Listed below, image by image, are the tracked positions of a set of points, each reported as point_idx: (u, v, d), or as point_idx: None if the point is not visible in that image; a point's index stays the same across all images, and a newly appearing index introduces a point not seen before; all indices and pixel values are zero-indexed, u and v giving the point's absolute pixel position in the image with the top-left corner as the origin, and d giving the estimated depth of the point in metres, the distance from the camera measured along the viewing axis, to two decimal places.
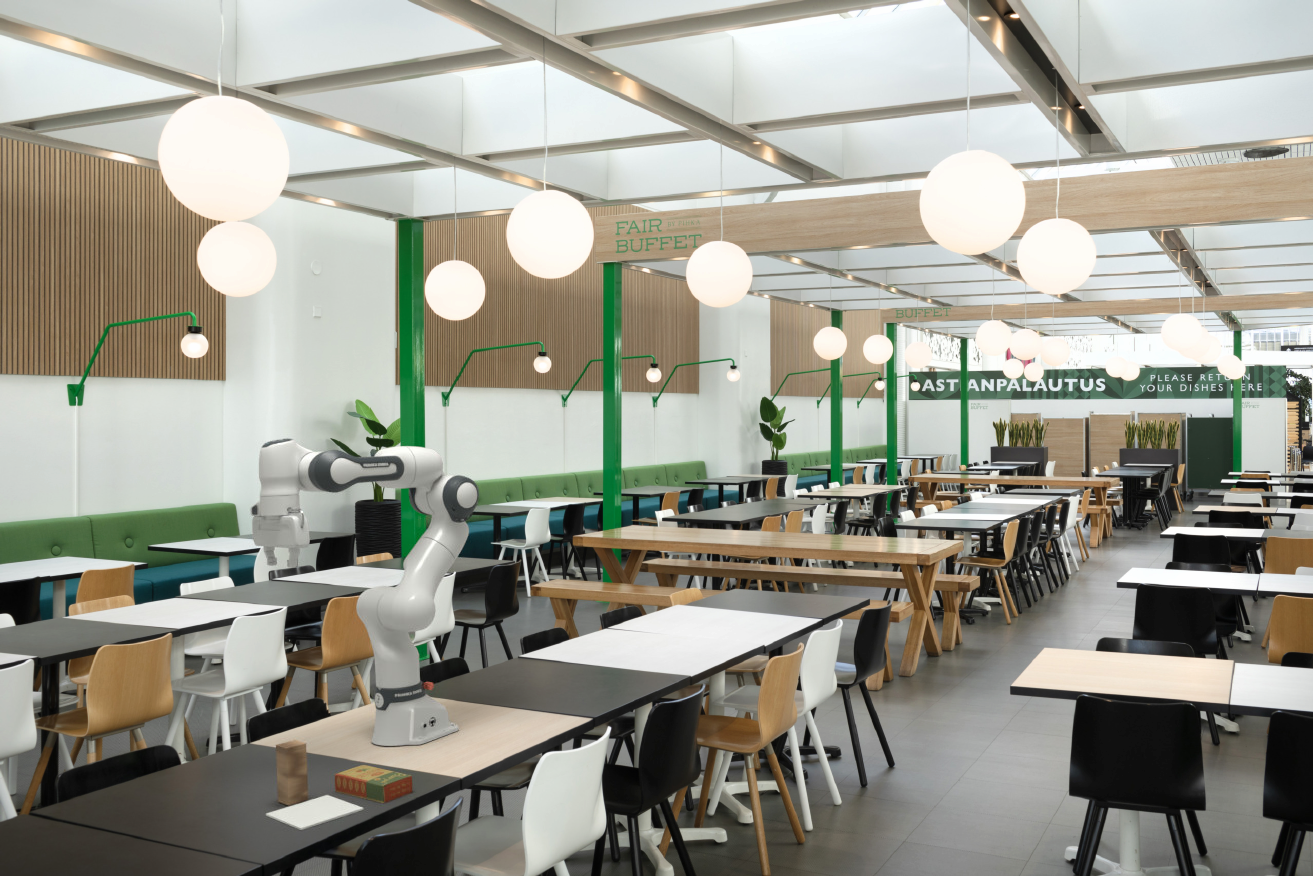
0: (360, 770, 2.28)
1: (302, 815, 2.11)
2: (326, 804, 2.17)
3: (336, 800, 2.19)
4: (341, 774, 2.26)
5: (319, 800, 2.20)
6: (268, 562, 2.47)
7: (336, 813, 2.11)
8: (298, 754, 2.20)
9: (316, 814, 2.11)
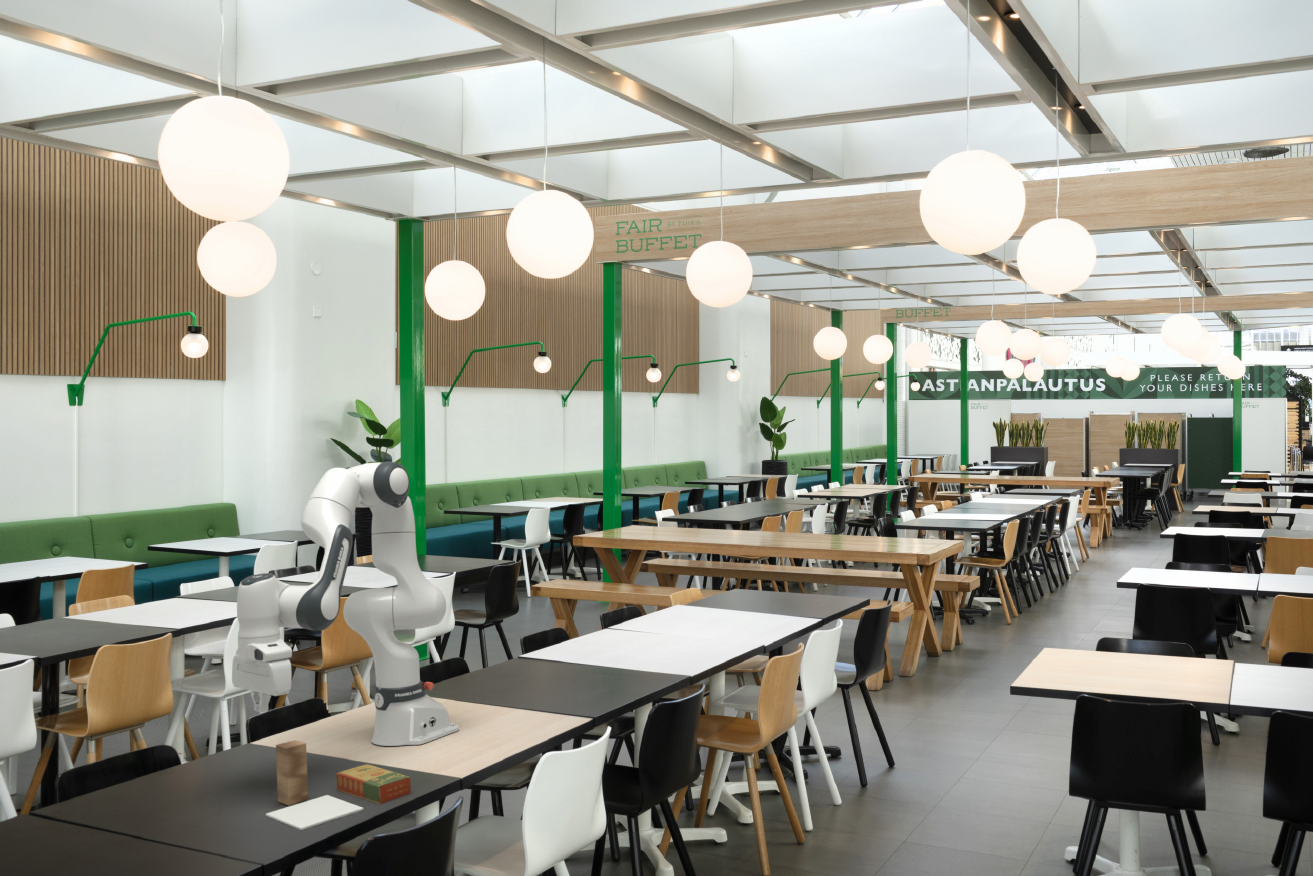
0: (362, 770, 2.28)
1: (302, 815, 2.11)
2: (326, 804, 2.17)
3: (336, 800, 2.19)
4: (342, 773, 2.27)
5: (319, 800, 2.20)
6: None
7: (336, 813, 2.11)
8: (298, 754, 2.20)
9: (316, 814, 2.11)
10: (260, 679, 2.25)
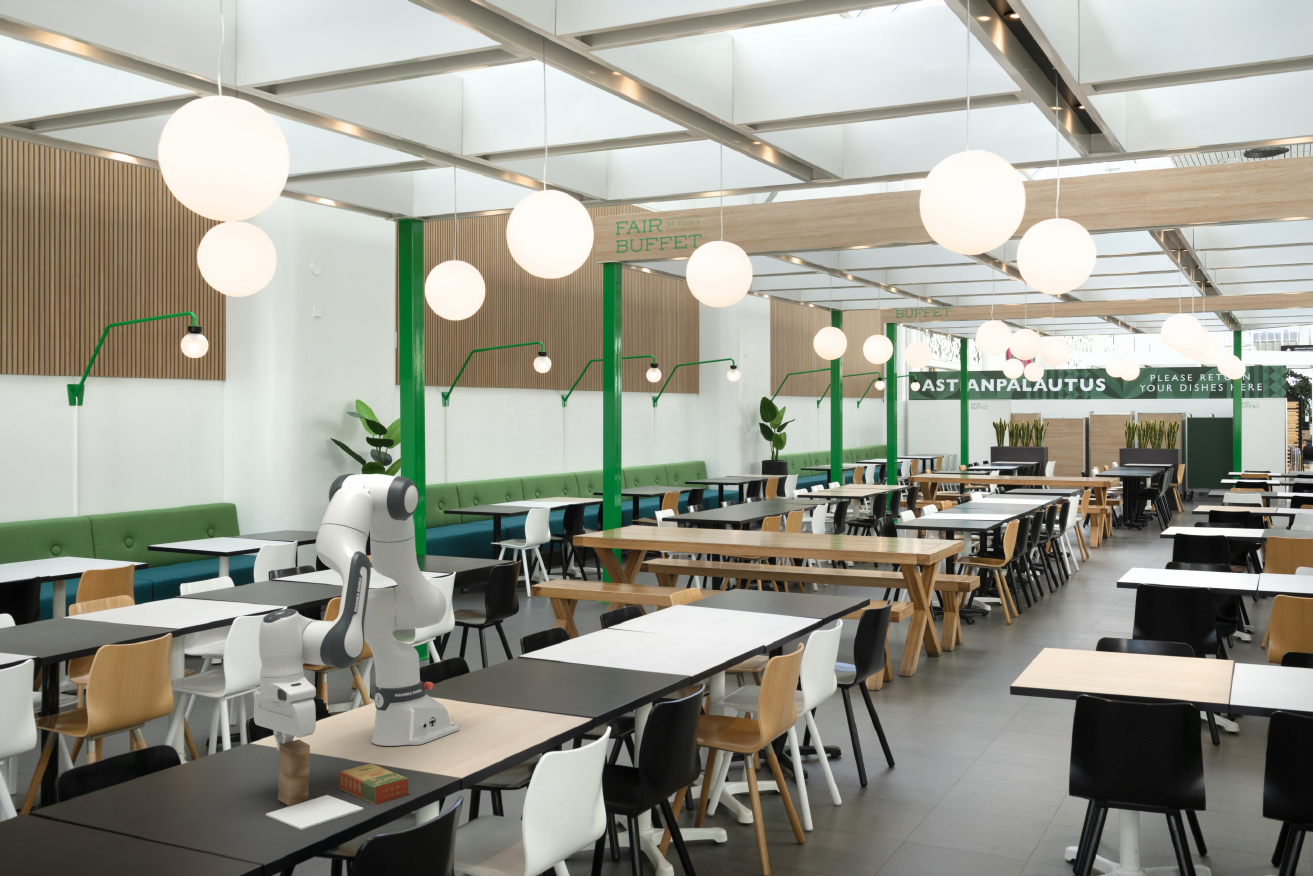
0: (363, 769, 2.29)
1: (302, 815, 2.11)
2: (326, 804, 2.17)
3: (336, 800, 2.19)
4: (344, 772, 2.28)
5: (319, 800, 2.20)
6: None
7: (336, 813, 2.11)
8: (301, 756, 2.19)
9: (316, 814, 2.11)
10: (283, 719, 2.19)
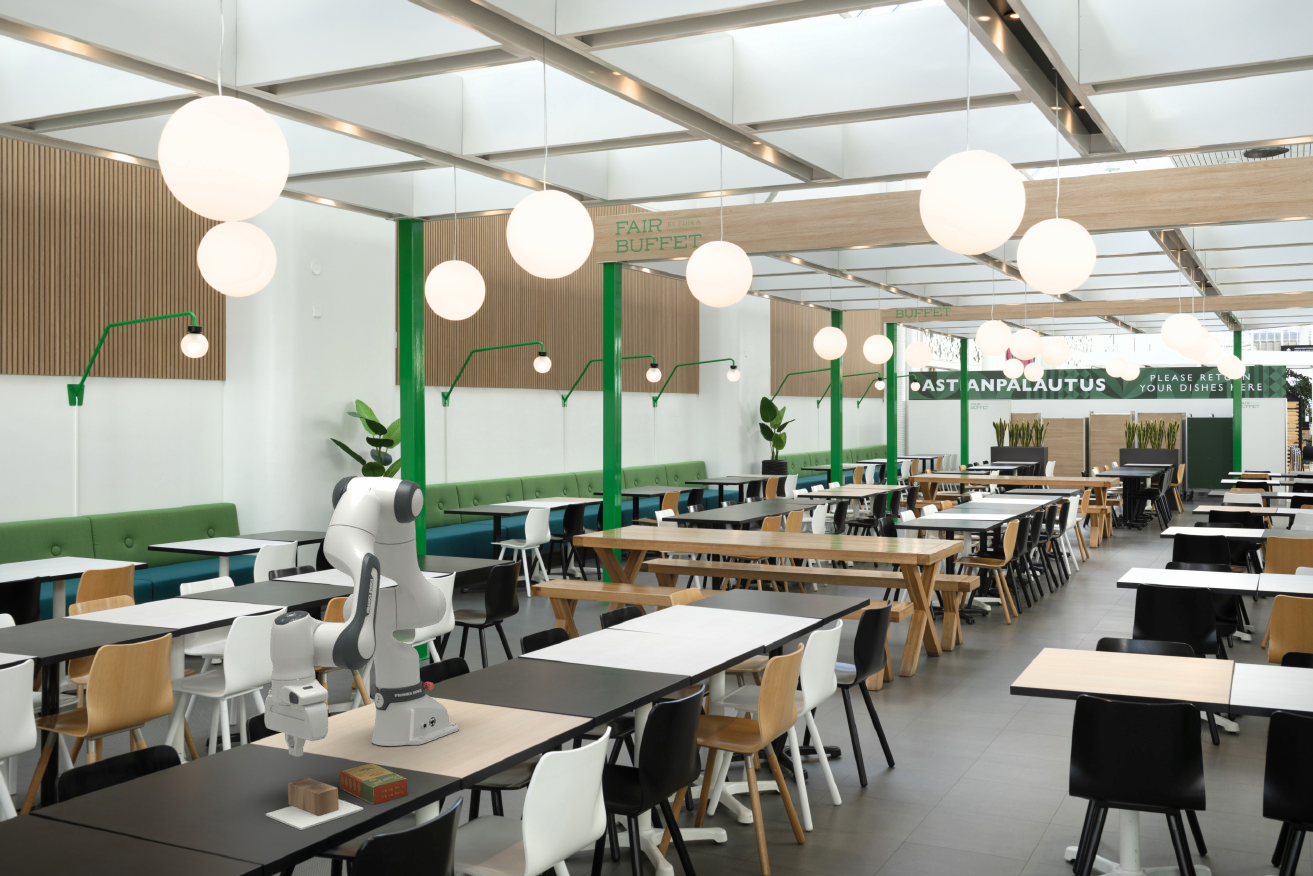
0: (364, 769, 2.29)
1: (302, 815, 2.11)
2: None
3: None
4: (344, 772, 2.28)
5: None
6: None
7: (336, 813, 2.11)
8: None
9: None
10: (295, 723, 2.16)
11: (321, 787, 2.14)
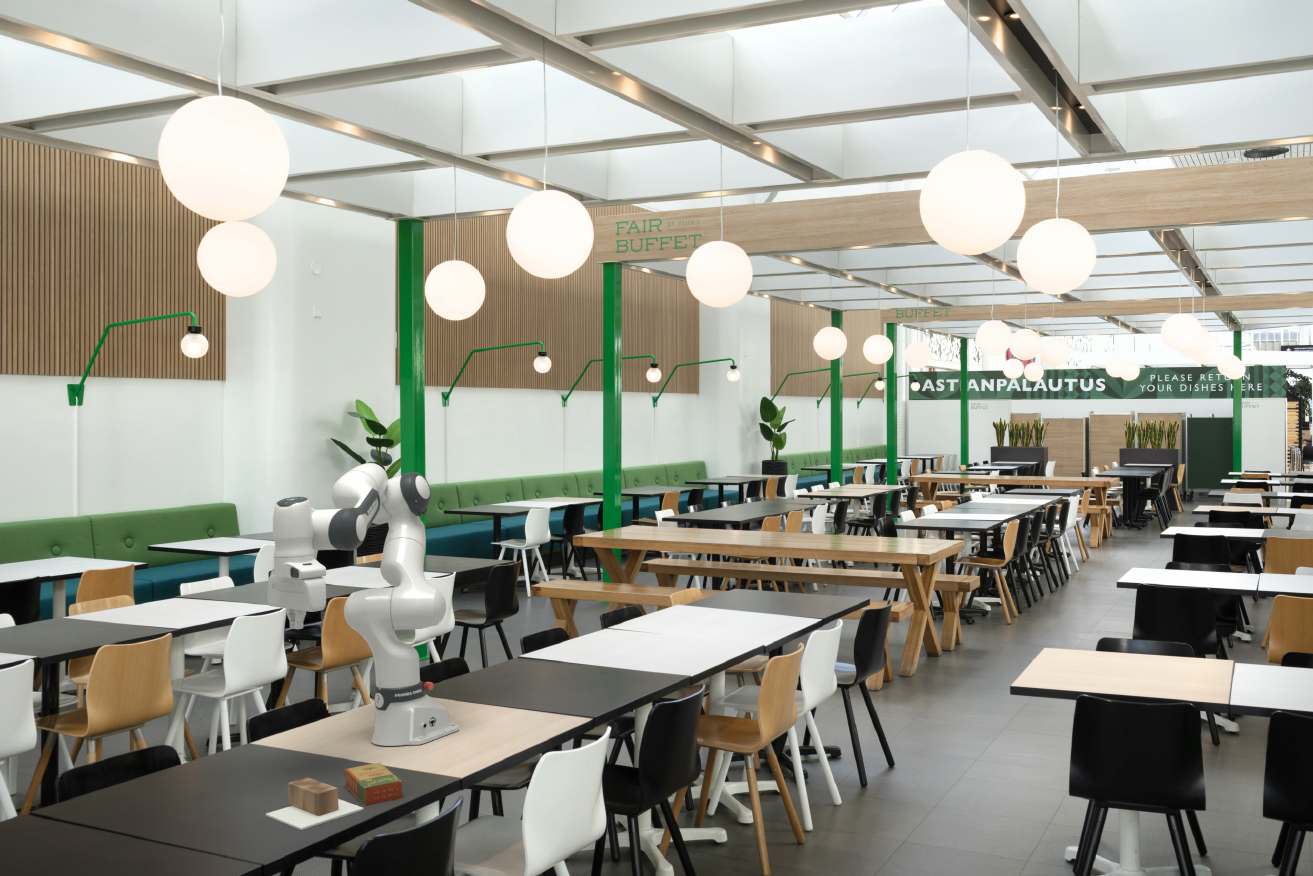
0: (367, 768, 2.29)
1: (302, 815, 2.11)
2: None
3: None
4: (348, 770, 2.29)
5: None
6: None
7: (336, 813, 2.11)
8: None
9: None
10: (296, 596, 2.35)
11: (321, 787, 2.14)
